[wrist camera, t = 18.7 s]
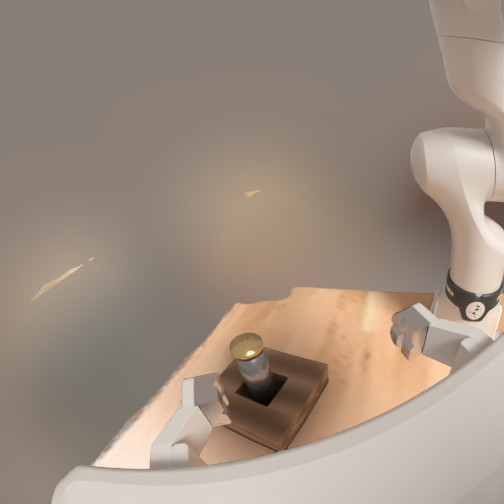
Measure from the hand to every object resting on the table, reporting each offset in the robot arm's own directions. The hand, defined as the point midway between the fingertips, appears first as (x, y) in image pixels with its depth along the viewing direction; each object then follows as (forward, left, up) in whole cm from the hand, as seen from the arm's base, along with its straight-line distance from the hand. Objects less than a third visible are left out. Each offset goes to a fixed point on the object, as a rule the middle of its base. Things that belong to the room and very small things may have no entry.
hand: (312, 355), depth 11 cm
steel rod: (-12, -17, -31) cm, 38 cm away
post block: (-12, -17, -32) cm, 38 cm away
